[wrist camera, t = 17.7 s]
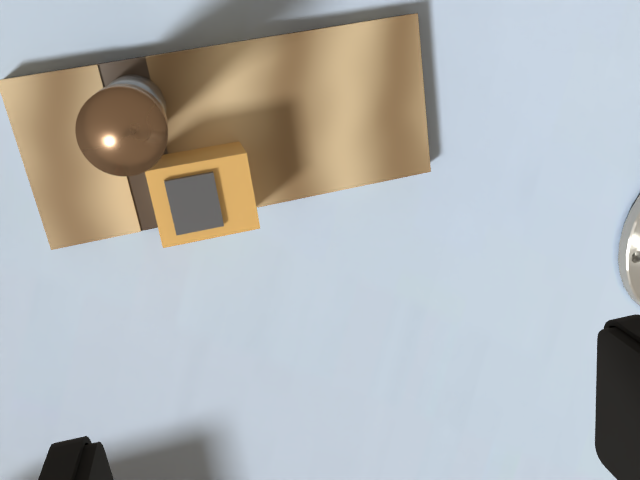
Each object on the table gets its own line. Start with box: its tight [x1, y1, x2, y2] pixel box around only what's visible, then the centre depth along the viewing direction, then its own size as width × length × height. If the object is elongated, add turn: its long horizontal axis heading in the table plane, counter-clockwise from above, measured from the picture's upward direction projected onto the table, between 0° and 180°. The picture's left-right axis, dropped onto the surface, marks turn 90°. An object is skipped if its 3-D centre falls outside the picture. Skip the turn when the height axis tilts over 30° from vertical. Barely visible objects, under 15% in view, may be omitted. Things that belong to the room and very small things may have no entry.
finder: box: [145, 141, 260, 248], centre depth 32 cm, size 5×4×4 cm
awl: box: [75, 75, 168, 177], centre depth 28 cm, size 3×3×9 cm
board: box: [0, 14, 431, 250], centre depth 34 cm, size 22×9×1 cm, turn 98°
